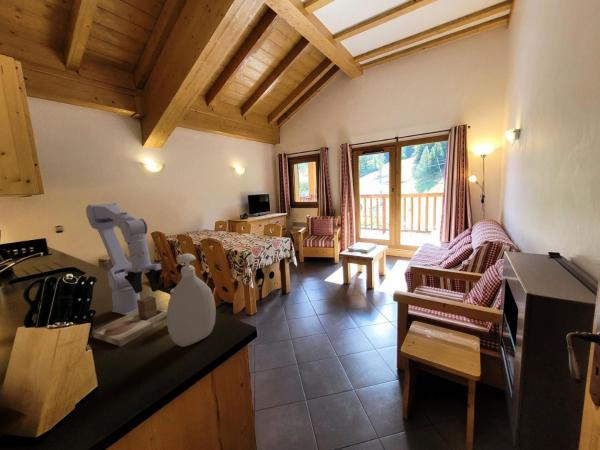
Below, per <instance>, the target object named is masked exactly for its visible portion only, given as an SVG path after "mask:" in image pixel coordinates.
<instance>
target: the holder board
mask: <svg viewBox="0 0 600 450" xmlns="http://www.w3.org/2000/svg"><path fill="white" fill-rule="evenodd" d="M167 310H168V309H167V308H166V309H165V308H160V307H157V315H156V316H154V317H152V318H150V319H148V320H146V321H144V320H140V319H139V312H138V310H137V311H135V312H133V313H131V314H128V315H124V316H123V317H120V318H118V319H116V320H114V321H111V322H109V323H107V324H105V325H103V326H100V327H99V328H96V329H94V330H92V331H91V333H92V337H93V338H95V339H97V340H101V341H103V342H106V343H109V344H112V345H115V346H118V347H122V346H125V345H126V344H128V343H129V342H131V341H134V340H135V339H137V338H139V337H140V336H142V335H144V334H145V333H147V332H150V331H151V330H153V329H155V328H156V327H159V326H160V325H162V324H163V323H167Z"/></svg>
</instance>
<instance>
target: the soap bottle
mask: <svg viewBox="0 0 600 450" xmlns="http://www.w3.org/2000/svg"><path fill="white" fill-rule="evenodd" d="M195 260H197V258H196V256H195V255H194V254H192V253H187V252H186V253H183V254H179V255H177V262H178V263H184V265H185V266H182V267H181V268H180V272H181V278H180V280H179V282H178V283H177V284H176V286H175V287H174V288H175V289H174V291H173V293H172V295H171V298H169V300H168V306H167V309H166V310H167V321H166V324H167V331H168V334H169V335H170V339H171V340H172V341H173V343H175V345H177V346H179V347H181V348H184V347H188V346H191V345H193V344H195V343H198V342H200V341H202V340H203V339H205V338H207V337H208V336H210V335H211V333H213V332H212V331H213V329H214V327H215V324H216V316H217V312H216V311H217V310H216V303H215V302H216V301H215V297H214V295H213V292H212V289H211V288H210V287H209V286H208V285H207V284H206V283H205V281H203V280H202V279H200V278H199V277H198V276H197V275H196V267H194V265H192V264H191V265H190V262H193V261H195Z"/></svg>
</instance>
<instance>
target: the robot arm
mask: <svg viewBox="0 0 600 450" xmlns="http://www.w3.org/2000/svg"><path fill="white" fill-rule="evenodd" d="M85 212H86V217H87V220H88V223H89V225H90V226H91V228H92V229H94V230H97V232H98V234H99V236H100V238H101V240H102V244H103V245H104V248H105V250H106V252H107V255H108V258H109V260H110V262H111V265H112V267H111V268H110V269H109V270H108V272H107V280H108V285H109V288H110V289H111V291H112V293H111V298H112V299H111V300H112V306H113V307H112V308H113V309H111V312H112V313H117V314H120V315H124V316H127V315H129V314H131V313H133V312H135V311H137V310H138V304H137V300H139V299H141V297H140V293H142V292H143V283H142V282H143V279H144V277H143V275H145V277H146V278H147V280H148V282H149V285H150V289H151V291H152V292H153V293H155V292H157V291H159V290H160V281H161V276H162V273H163V268H162V264H161V263H152V261H151V256H150V250H149V247H148V242H147V236H146V235H147V233H148V225H147V223H146V221H145V219H144V218H139V219H137V218H135V217H133V216H132V215H131V214H129V213H128V212H127V211H121V208H120V205H119V204H118V203H116V202H113V203H101V204H87V206H86V208H85ZM116 227H117V228H118V229H120V231H121V235H122V237H123V238H124V242H125V243H126V244H127V248H128V249H127V250H128V254H129V258H130V261H128V259H127V257H126V254H125V252H124V250H123V248H122V245H121V243H120V241H119V239H118V236H117V234H116V231H115V228H116ZM143 273H144V274H143Z"/></svg>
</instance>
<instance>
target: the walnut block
mask: <svg viewBox="0 0 600 450" xmlns="http://www.w3.org/2000/svg"><path fill="white" fill-rule="evenodd" d="M137 304H138V312H139V319H140V320H144V321H146V320H148V319H150V318H152V317H154V316H156V315H157V308H158V307H157V300H156V296H153V295H147V296H144V297H140V299H139V300H137Z"/></svg>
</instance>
